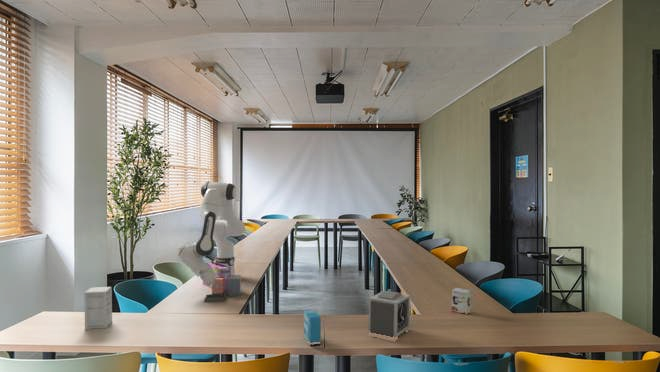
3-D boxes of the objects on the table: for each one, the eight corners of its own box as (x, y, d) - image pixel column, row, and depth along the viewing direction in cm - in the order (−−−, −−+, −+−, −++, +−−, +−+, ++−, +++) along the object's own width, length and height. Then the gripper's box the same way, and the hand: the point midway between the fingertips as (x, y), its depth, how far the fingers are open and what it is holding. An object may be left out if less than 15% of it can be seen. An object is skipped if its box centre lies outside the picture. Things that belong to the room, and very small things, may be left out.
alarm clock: (394, 342, 195) (395, 299, 195) (366, 336, 202) (367, 294, 202) (410, 329, 211) (411, 290, 210) (384, 324, 218) (385, 286, 217)
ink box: (451, 311, 240) (451, 289, 239) (455, 309, 243) (455, 287, 243) (466, 315, 234) (466, 292, 233) (470, 313, 237) (471, 290, 237)
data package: (303, 337, 200) (303, 309, 200) (313, 336, 201) (313, 308, 201) (310, 347, 188) (310, 318, 188) (320, 346, 190) (321, 317, 189)
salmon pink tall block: (211, 295, 266) (211, 279, 266) (212, 293, 269) (212, 278, 269) (222, 294, 267) (222, 279, 266) (223, 293, 270) (223, 278, 270)
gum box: (201, 283, 293) (201, 262, 293) (212, 282, 298) (212, 261, 298) (219, 291, 275) (219, 268, 275) (231, 289, 281) (231, 267, 280)
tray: (204, 302, 252) (204, 298, 252) (206, 297, 261) (206, 294, 261) (225, 301, 253) (225, 298, 253) (226, 297, 262) (226, 294, 262)
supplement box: (112, 321, 217) (112, 286, 217) (106, 328, 208) (106, 291, 208) (91, 322, 216) (90, 287, 215) (83, 329, 207) (83, 292, 206)
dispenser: (211, 296, 263) (211, 279, 262) (213, 292, 272) (213, 275, 272) (239, 296, 265) (240, 278, 265) (240, 291, 275) (240, 274, 274)
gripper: (203, 269, 256) (220, 286, 258) (207, 262, 276) (224, 277, 278) (194, 277, 256) (212, 294, 257) (199, 269, 276) (216, 285, 278)
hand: (218, 285), depth 268 cm, fingers closed on salmon pink tall block, 3 cm apart
